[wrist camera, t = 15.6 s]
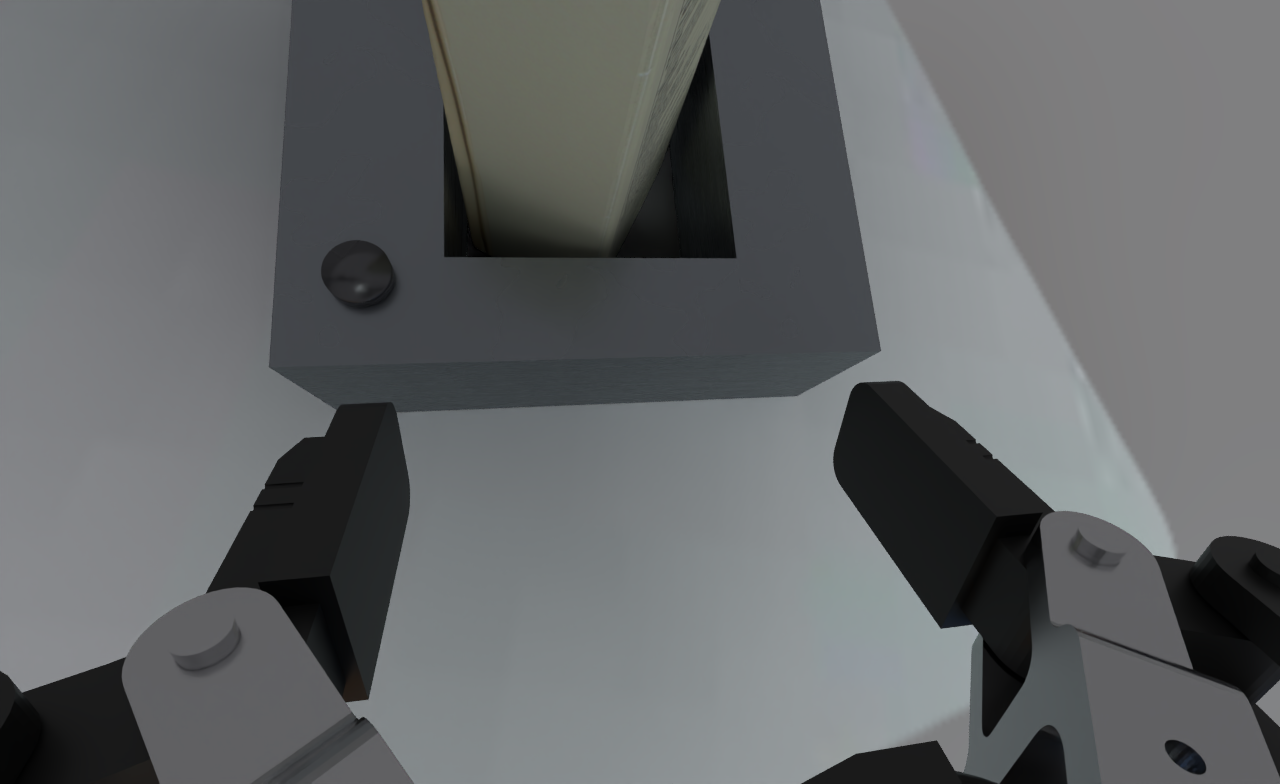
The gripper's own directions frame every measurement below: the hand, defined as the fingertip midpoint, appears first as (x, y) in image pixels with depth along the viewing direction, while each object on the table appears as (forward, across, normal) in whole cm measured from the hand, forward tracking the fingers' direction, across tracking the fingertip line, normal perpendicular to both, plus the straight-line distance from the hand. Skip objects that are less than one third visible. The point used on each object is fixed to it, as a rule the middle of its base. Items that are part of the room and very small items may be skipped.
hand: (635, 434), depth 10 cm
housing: (+12, 0, -1) cm, 12 cm away
